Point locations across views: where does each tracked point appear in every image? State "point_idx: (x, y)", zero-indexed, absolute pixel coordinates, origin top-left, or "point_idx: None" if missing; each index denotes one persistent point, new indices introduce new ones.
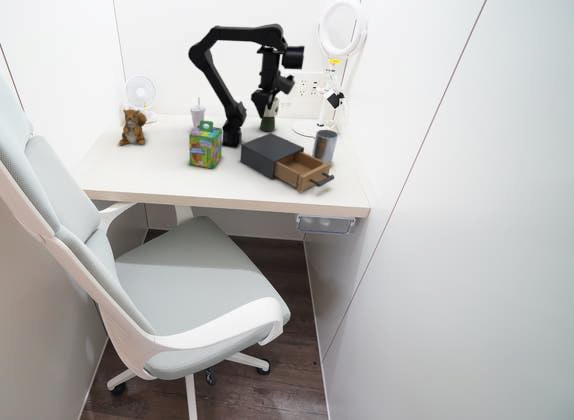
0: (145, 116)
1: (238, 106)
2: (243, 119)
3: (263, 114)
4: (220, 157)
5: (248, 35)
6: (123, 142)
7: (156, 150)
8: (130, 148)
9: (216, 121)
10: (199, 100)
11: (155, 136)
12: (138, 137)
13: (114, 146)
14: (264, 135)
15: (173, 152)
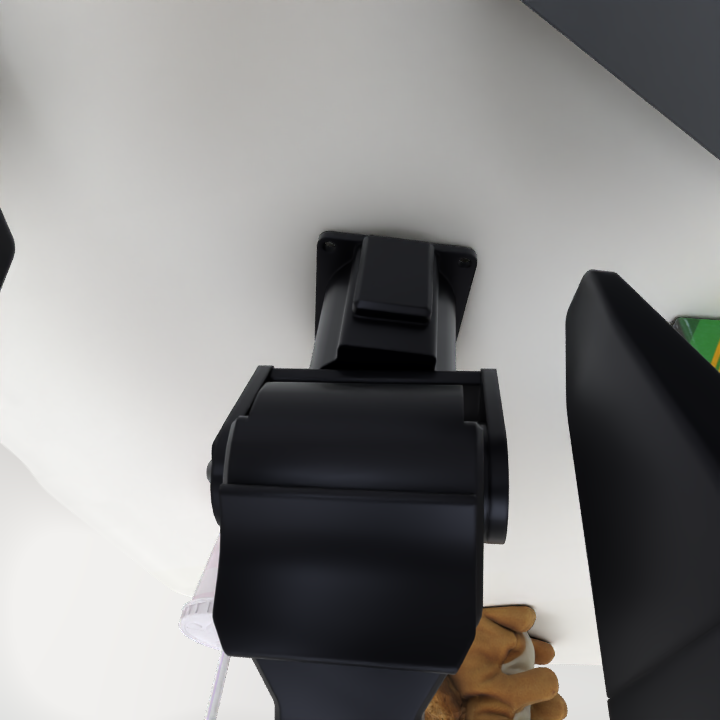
0: None
1: (455, 669)
2: (460, 450)
3: (684, 352)
4: (708, 325)
5: None
6: (547, 654)
7: (582, 570)
8: (571, 624)
9: (79, 434)
10: (215, 697)
11: None
12: (522, 648)
13: (558, 651)
14: (573, 32)
15: None
